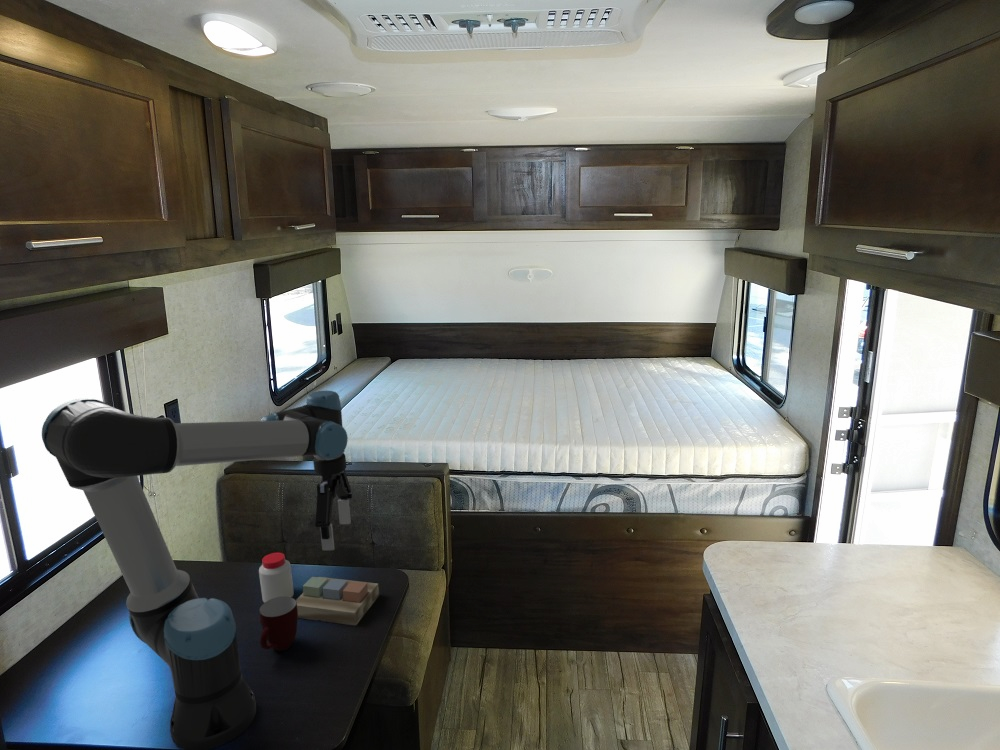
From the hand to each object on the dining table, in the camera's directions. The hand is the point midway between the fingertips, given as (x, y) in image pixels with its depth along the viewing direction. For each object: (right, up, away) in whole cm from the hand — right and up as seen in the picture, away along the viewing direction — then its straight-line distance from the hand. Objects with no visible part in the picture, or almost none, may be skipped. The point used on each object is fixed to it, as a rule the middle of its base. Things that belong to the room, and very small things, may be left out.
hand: (337, 536), depth 157 cm
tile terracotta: (+4, -15, +1) cm, 16 cm away
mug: (-10, -22, -13) cm, 28 cm away
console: (-1, -18, +3) cm, 19 cm away
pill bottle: (-17, -18, +8) cm, 26 cm away
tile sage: (-6, -15, +3) cm, 17 cm away
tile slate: (-1, -15, +2) cm, 16 cm away
